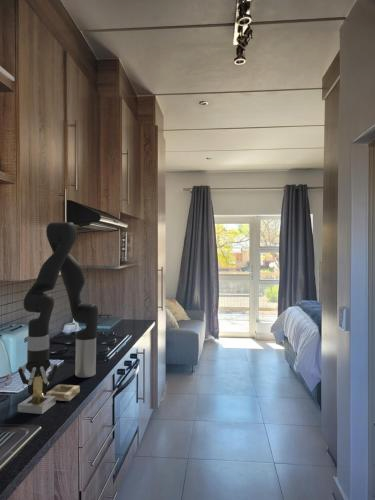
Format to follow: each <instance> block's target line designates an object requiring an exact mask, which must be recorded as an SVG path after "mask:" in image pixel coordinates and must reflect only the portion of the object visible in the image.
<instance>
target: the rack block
mask: <svg viewBox="0 0 375 500" xmlns="http://www.w3.org/2000/svg"><path fill="white" fill-rule="evenodd" d="M80 389H81V386H80V385H74V384H63V383H61V384H60V383H59V384H57V385H55V386H54V387H53V388H51V389H50V390H47V392H45V396H56V401H60V402H61V401H62V402H63V401H64V402H70V401H71V400H72V399H74V397H76V396H77V395H78V394H80V391H81V390H80Z"/></svg>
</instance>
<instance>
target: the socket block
mask: <svg viewBox="0 0 375 500" xmlns="http://www.w3.org/2000/svg"><path fill="white" fill-rule="evenodd" d="M56 403H57V400H56V396H46V395H44V402H42V403H41V404H32V395H29V396H28V398H26V399H25V400H23V401H21V402H20V403H18V404H17V413H24V414H25V413H26V414H27V413H28V414H36V415H37V414H38V415H43V414H45V412H47V411H48V410H49V409H51V407H53V406H54V405H55V404H56Z"/></svg>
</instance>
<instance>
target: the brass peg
mask: <svg viewBox="0 0 375 500" xmlns="http://www.w3.org/2000/svg"><path fill="white" fill-rule="evenodd" d="M43 388H44V380H43V377H42V375H36V376H34V378H33V381H32V395H31V396H32V404H41V403H42V402H44V396H45V393H44V394H43Z"/></svg>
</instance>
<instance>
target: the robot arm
mask: <svg viewBox="0 0 375 500" xmlns="http://www.w3.org/2000/svg"><path fill="white" fill-rule="evenodd" d="M45 233H46V238H47V241H48V244H49V245H50V248H51V250H52V252H53V253H52V254H51V255H50V256H49V257H47V259H46V260H45V261H44V262H43V264H42V265H41V267H40V269H39V272H38V275H37V278H36V281H35V282H34V283H33V284H32V286H31V288H30V289H29V290H28V292H27V293H26V294H25V296H24V298H23V308H24V310H25V311H27V312H28V313H39V316H38V317H36V318H32V319H30V320H29V321H28V325H27V326H28V329H27V330H28V333H27V334H28V337H27V345H26V347H27V348H26V350H27V352H26V355H27V357H26V364H25V365H24V366H19V367H18V370H17V371H18V374H19V377H20V379H21V382H22V384H23V385H25V384H27V393H28V394H29V396H32V381H33V378H34V376H36V375H42V377H43V380H44V388H43V394H44V395H45V394H46V393H47V392H48V386H49V385H48V382H49V383H50V382H53V380H54V377H55V375H56V371H57V369H58V364H57V363H51V361H50V336H49V335H50V334H49V331H50V329H49V327H50V321H51V317H52V312H53V309H54V306H55V300H54V297H53V296H52V295H51V294H50V293H46V292H49V291H53V290H54V288H55V287H56V283H57V280H58V277H59V275H60V276H61V279H62V282H63V285H64V287H65V291H66V294H67V297H68V302H69V307H70V313H71V317H72V319H73V320H74V322H75V323H77V324H85V328H83V329H80V330H78V331H76V333H75V361H74V363H75V365H74V366H75V367H74V368H75V371H74V374H75V377H77V378H84V379H85V378H90V377H94V376H96V373H97V372H96V370H97V369H96V367H97V333H98V323H99V322H98V320H99V309H98V305H97V304H95V303H83V302H82V300H81V292H82V290H83V288H84V285H85V281H86V277H85V274H84V270H83V266H81V264H80V263H79V261H77V260H76V259H75V257H73V255H71V254H70V251H71V250H72V247H74V246H73V245H75V242H76V240H77V234H78V229H77V227H76V225H75V224H74V222H70V221H69V222H68V221H64V222H63V221H61V222H60V221H59V222H57V221H55V222H50V223H48V224H47V225H46V230H45ZM49 368H50V370H51V372H50V374H49V376H48V377H47V375H46V373H47V371H48V369H49ZM26 370H27V371H28V372H29V373H30V375H29V378H28V379H27V377H26V375H25V373H26Z"/></svg>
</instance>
